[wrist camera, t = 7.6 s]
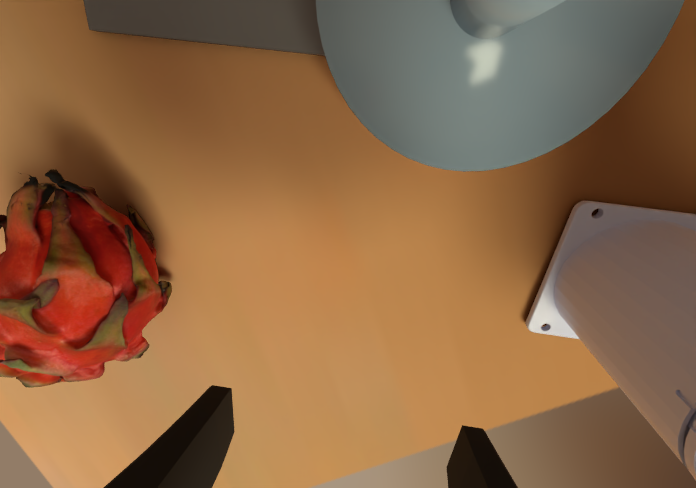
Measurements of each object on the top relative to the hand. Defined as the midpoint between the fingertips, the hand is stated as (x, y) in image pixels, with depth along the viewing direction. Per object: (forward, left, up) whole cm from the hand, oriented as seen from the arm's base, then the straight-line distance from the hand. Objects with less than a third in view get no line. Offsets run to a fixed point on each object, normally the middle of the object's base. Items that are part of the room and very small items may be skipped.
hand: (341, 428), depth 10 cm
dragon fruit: (+15, +1, -10) cm, 18 cm away
